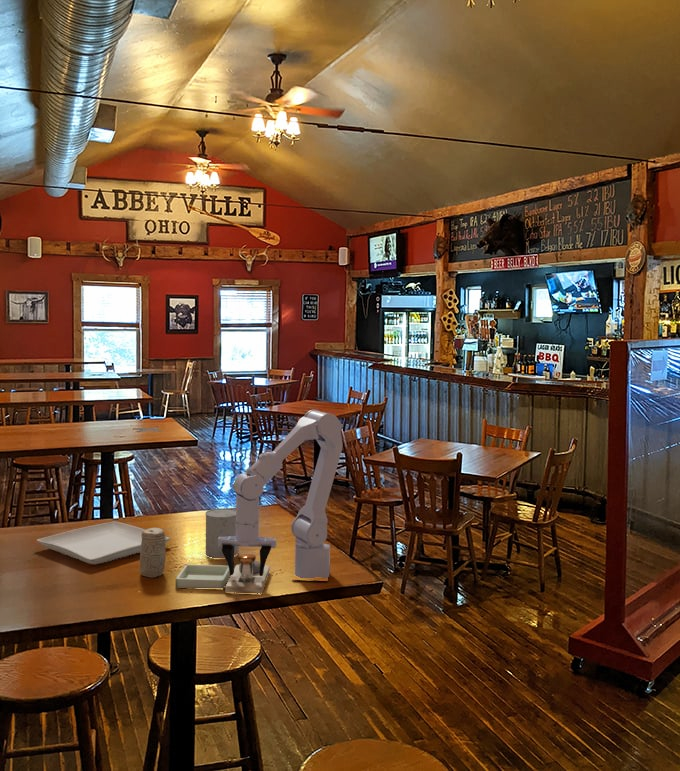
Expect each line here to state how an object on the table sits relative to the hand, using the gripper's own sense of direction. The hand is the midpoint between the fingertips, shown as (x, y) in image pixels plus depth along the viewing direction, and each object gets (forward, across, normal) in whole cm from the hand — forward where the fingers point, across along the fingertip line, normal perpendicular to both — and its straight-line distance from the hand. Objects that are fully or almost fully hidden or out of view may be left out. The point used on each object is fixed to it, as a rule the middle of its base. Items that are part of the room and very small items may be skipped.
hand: (246, 574), depth 186 cm
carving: (+4, -26, +7) cm, 27 cm away
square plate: (+4, -46, +27) cm, 53 cm away
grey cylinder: (+4, -11, +25) cm, 28 cm away
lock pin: (+3, 0, 0) cm, 3 cm away
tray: (+3, -12, +3) cm, 12 cm away
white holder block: (+3, 0, +3) cm, 5 cm away
